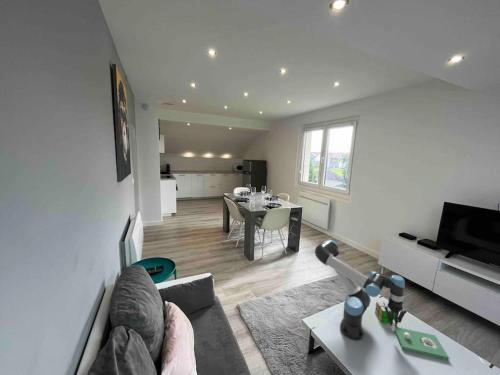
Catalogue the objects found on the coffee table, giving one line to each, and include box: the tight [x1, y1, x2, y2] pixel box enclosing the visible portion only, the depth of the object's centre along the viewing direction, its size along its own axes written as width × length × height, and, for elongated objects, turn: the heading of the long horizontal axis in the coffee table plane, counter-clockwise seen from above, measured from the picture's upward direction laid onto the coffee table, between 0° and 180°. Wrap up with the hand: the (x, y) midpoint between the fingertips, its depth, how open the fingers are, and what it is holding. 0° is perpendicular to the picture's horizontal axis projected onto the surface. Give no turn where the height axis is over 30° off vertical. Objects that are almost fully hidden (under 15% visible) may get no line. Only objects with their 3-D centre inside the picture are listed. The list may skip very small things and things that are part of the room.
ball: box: [404, 332, 411, 339], centre depth 140 cm, size 4×4×4 cm
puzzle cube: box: [374, 301, 395, 324], centre depth 159 cm, size 10×10×10 cm
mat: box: [394, 326, 450, 362], centre depth 138 cm, size 24×16×2 cm, turn 72°
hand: (392, 329), depth 142 cm, fingers closed
